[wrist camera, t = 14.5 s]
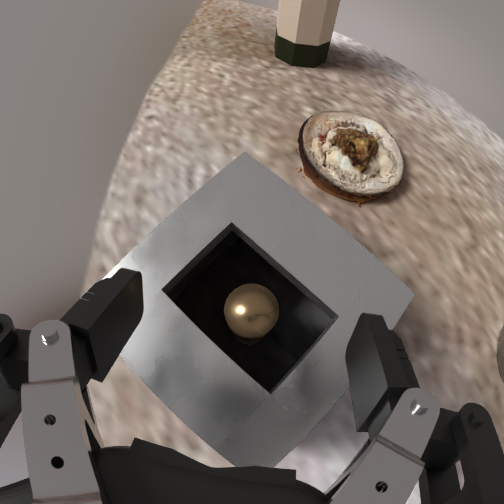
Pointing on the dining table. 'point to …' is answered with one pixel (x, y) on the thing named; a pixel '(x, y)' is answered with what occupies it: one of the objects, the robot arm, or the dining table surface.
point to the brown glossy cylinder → (251, 312)
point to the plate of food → (349, 155)
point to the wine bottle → (304, 31)
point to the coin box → (290, 266)
